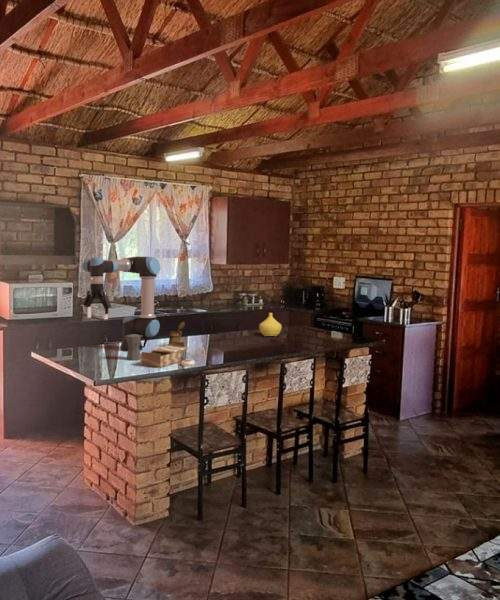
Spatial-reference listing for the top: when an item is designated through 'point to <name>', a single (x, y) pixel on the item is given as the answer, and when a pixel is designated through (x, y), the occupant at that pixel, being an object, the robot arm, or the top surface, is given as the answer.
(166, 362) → the box
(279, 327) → the vase
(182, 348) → the lid
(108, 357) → the top surface
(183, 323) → the wooden mug
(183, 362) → the tape roll
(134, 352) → the coffeepot
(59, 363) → the top surface
